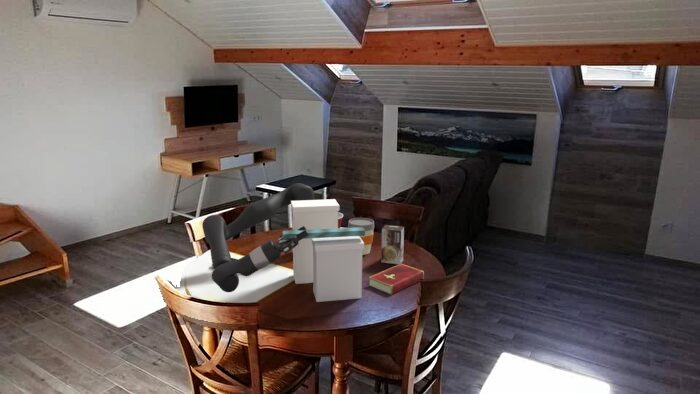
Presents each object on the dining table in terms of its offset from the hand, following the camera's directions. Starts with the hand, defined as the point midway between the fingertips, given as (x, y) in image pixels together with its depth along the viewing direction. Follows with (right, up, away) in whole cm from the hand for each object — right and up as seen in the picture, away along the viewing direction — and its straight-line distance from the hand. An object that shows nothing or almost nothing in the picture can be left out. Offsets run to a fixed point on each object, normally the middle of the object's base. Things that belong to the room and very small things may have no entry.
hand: (306, 230), depth 170 cm
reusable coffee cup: (+21, -14, +54) cm, 60 cm away
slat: (+6, -2, +2) cm, 7 cm away
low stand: (+11, -25, +9) cm, 29 cm away
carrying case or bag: (-36, -19, +33) cm, 52 cm away
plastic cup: (+7, -9, +75) cm, 76 cm away
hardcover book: (+35, -23, +21) cm, 47 cm away
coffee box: (+35, -17, +43) cm, 58 cm away
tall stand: (+2, -21, +24) cm, 32 cm away
